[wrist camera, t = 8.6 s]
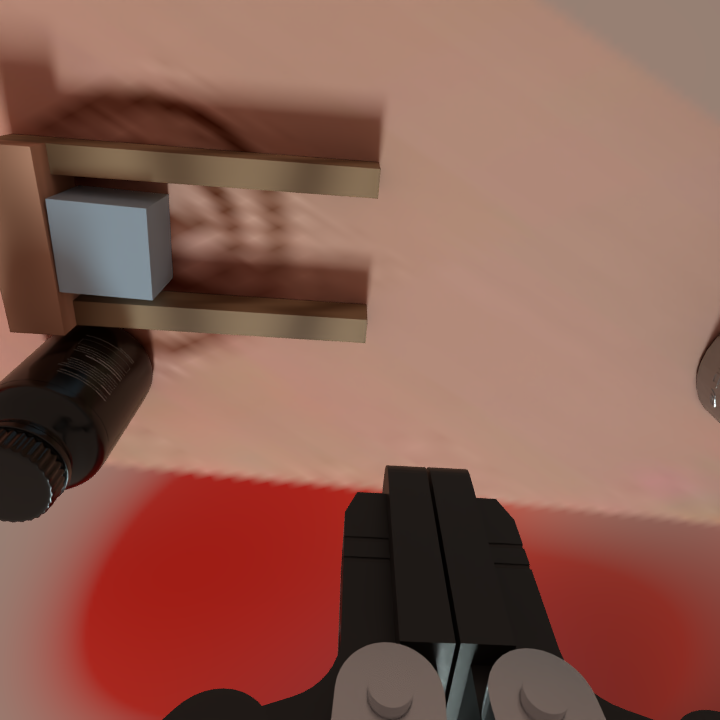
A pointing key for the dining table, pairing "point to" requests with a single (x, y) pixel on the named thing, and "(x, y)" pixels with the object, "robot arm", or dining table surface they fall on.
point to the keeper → (111, 241)
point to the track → (168, 309)
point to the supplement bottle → (66, 414)
